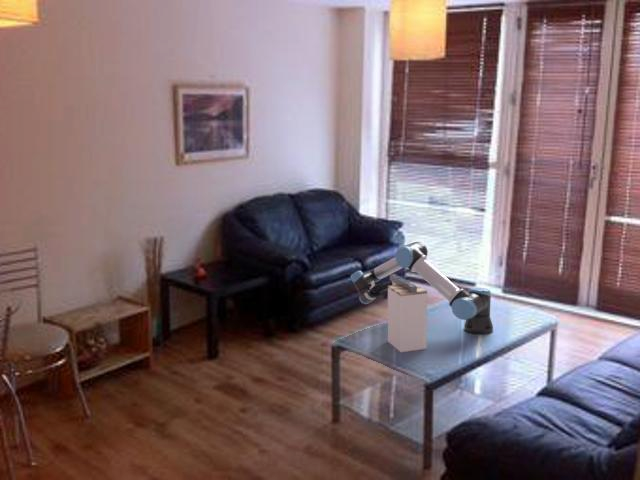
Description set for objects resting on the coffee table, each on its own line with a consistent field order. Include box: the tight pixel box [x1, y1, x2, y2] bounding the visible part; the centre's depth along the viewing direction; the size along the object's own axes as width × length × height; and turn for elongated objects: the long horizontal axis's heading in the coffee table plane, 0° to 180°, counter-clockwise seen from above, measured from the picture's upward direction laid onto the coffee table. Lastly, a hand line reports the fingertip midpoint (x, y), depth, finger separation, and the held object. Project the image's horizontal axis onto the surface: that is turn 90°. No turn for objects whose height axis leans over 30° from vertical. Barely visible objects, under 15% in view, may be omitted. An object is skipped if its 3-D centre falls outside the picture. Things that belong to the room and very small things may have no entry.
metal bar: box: [389, 273, 418, 293], centre depth 324 cm, size 26×3×3 cm, turn 17°
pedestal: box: [387, 282, 428, 353], centre depth 323 cm, size 16×14×30 cm
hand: (385, 281), depth 345 cm, fingers open, 13 cm apart
